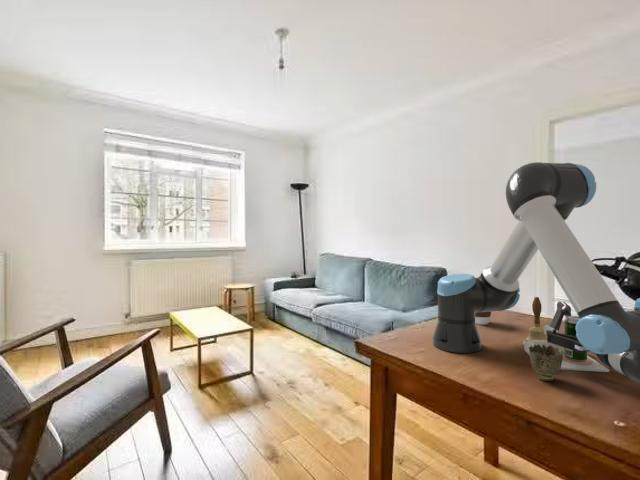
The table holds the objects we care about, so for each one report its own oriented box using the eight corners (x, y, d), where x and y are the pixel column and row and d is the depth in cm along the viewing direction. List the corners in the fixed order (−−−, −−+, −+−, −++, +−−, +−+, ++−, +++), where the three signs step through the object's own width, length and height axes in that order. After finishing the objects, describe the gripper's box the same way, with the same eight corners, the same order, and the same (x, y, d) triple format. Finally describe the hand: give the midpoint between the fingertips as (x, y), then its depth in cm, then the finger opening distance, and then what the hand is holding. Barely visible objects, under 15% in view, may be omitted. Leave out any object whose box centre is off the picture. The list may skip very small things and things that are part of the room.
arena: (543, 368, 96) (543, 356, 96) (524, 350, 110) (524, 339, 109) (609, 372, 93) (609, 359, 92) (581, 353, 106) (581, 341, 106)
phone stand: (576, 335, 122) (577, 302, 122) (581, 341, 117) (581, 306, 116) (546, 333, 126) (546, 300, 126) (550, 338, 121) (550, 304, 120)
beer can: (579, 364, 96) (580, 321, 96) (560, 357, 101) (560, 317, 101) (591, 360, 98) (592, 319, 98) (571, 354, 103) (572, 314, 103)
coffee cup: (480, 328, 134) (480, 297, 134) (459, 321, 144) (459, 292, 144) (501, 324, 138) (501, 294, 138) (479, 317, 148) (479, 290, 148)
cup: (523, 373, 93) (523, 343, 93) (551, 372, 93) (551, 343, 93) (538, 386, 86) (538, 354, 86) (569, 385, 85) (569, 354, 85)
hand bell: (521, 346, 113) (521, 298, 113) (524, 339, 120) (524, 293, 119) (551, 351, 108) (551, 301, 108) (553, 343, 115) (553, 296, 114)
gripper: (566, 370, 83) (525, 341, 104) (682, 373, 80) (615, 342, 101) (566, 339, 83) (525, 316, 104) (682, 341, 80) (615, 317, 101)
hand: (569, 329), depth 103 cm, fingers open, 13 cm apart
